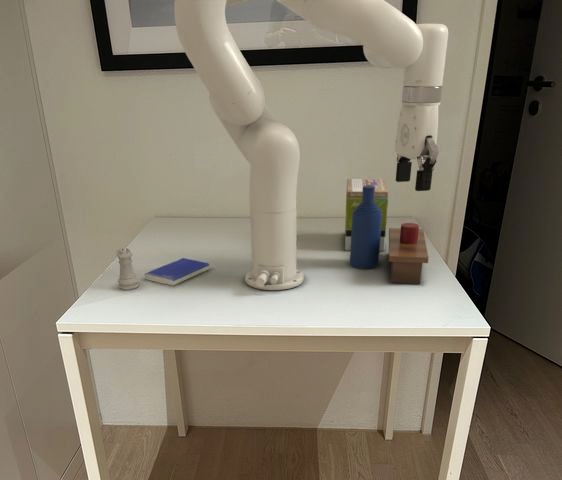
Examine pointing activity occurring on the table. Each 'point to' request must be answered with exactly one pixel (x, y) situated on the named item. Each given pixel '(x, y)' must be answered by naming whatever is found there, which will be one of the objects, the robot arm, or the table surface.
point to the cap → (409, 233)
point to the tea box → (355, 199)
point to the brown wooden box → (406, 258)
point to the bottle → (366, 231)
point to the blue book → (177, 271)
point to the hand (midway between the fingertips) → (412, 185)
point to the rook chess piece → (126, 271)
